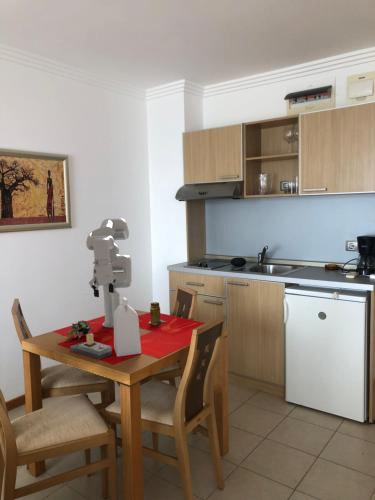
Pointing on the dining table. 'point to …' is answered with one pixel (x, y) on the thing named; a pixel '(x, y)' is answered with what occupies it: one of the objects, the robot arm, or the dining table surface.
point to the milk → (126, 330)
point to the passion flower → (80, 329)
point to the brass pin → (90, 340)
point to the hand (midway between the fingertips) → (104, 294)
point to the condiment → (155, 314)
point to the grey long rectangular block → (92, 350)
